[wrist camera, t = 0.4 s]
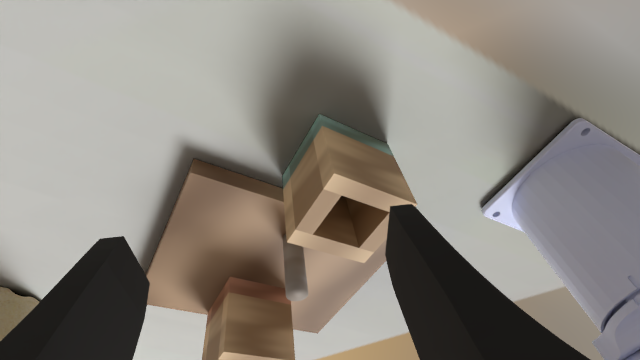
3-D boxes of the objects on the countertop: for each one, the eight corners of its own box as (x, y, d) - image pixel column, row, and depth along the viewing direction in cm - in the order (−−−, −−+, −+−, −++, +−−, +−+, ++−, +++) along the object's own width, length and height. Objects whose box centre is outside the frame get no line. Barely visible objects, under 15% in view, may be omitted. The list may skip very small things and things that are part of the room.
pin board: (399, 227, 25) (426, 293, 21) (315, 319, 31) (323, 384, 27) (193, 158, 19) (175, 229, 15) (140, 287, 25) (117, 362, 21)
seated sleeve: (290, 289, 26) (295, 360, 22) (264, 322, 28) (265, 392, 24) (230, 276, 24) (223, 351, 20) (208, 312, 26) (198, 386, 22)
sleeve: (387, 144, 20) (417, 204, 16) (346, 198, 22) (364, 263, 19) (319, 113, 18) (334, 173, 15) (282, 176, 21) (286, 242, 17)
